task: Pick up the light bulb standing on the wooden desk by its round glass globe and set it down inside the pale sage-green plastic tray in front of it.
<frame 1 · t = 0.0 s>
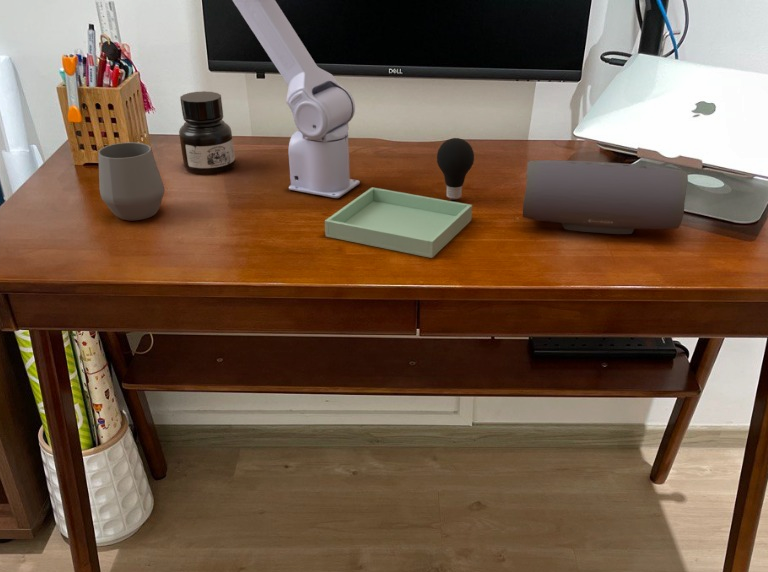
ink bottle: (210, 167, 147), on the table
tray: (400, 228, 125), on the table
bluetooth speaker: (597, 229, 125), on the table
light bulb: (453, 201, 134), on the table
cup: (137, 215, 128), on the table
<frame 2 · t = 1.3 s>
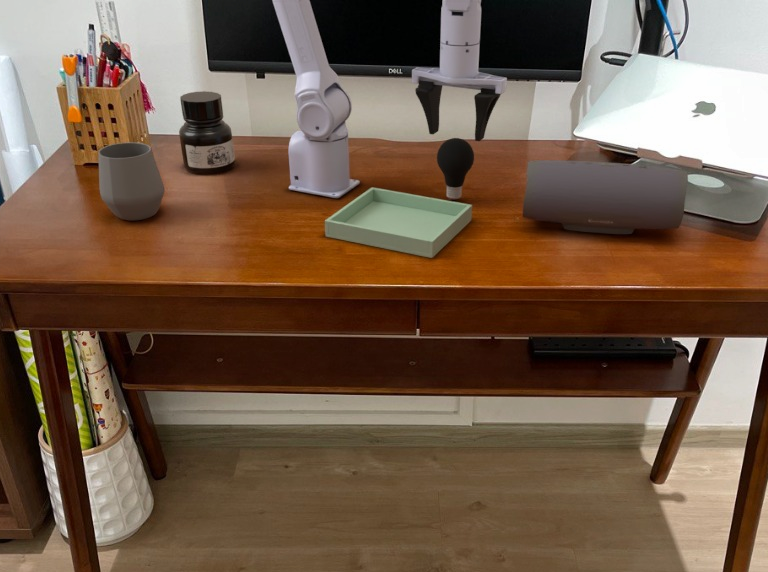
hand: (456, 135, 128), 10 cm above the table, tool pointing down, fingers open, 7 cm apart
nothing on the table moved.
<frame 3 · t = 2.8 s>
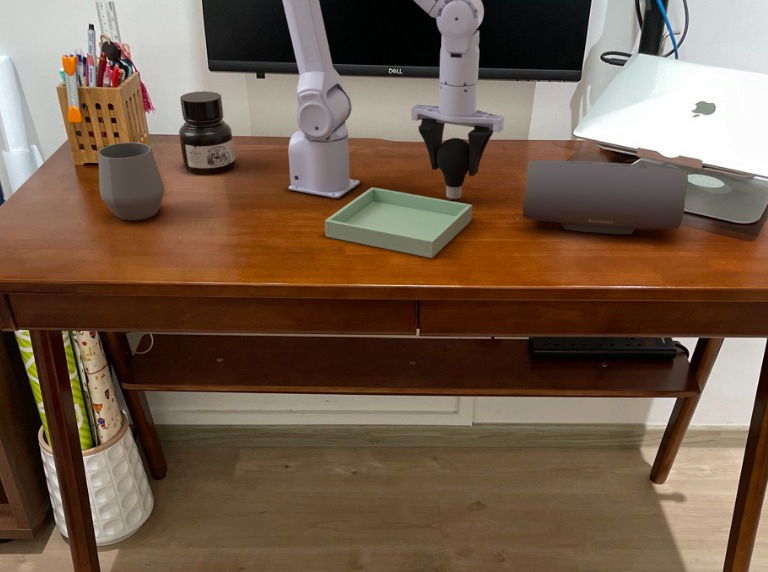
hand: (454, 170, 131), 5 cm above the table, tool pointing down, fingers closed on light bulb, 6 cm apart
light bulb: (453, 201, 134), on the table, touching gripper
everything else where it was.
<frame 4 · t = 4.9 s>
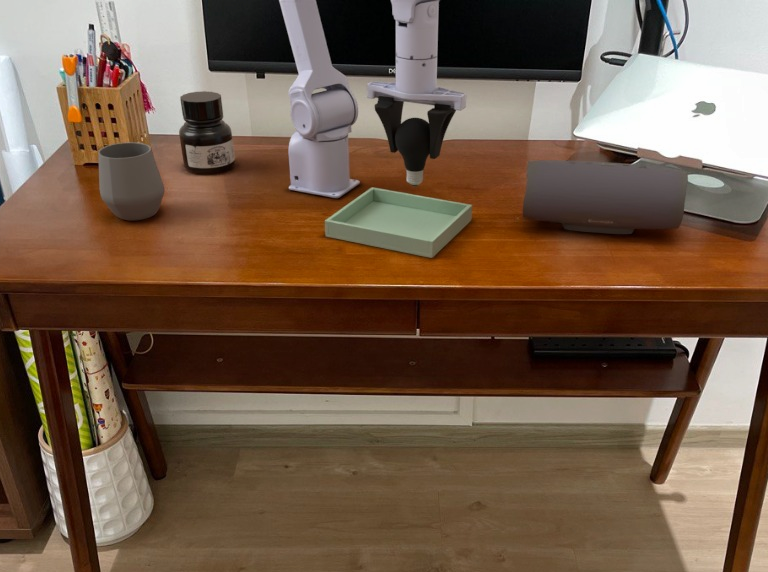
hand: (415, 153, 121), 10 cm above the table, tool pointing down, fingers closed on light bulb, 6 cm apart
light bulb: (414, 187, 124), point 5 cm above the table, touching gripper
everything else where it was.
when the fingers open (5 cm above the table, at t = 7.3 s): light bulb stays where it is, resting on tray.
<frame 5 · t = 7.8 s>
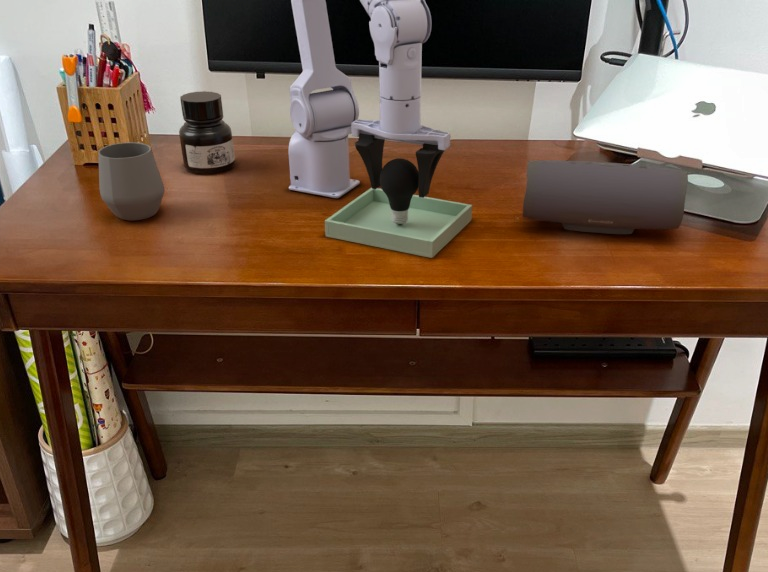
hand: (400, 191, 121), 6 cm above the table, tool pointing down, fingers open, 7 cm apart
light bulb: (399, 226, 125), resting on tray
everything else where it was.
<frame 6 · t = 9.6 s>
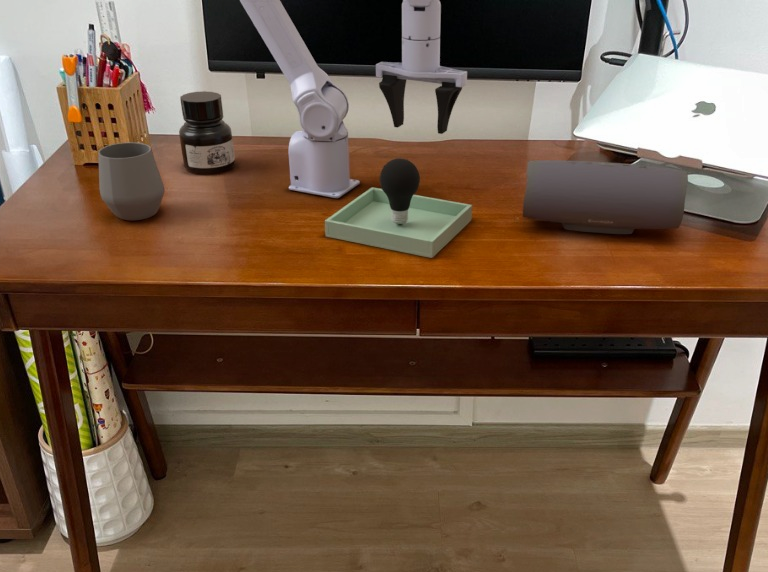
hand: (420, 128, 131), 10 cm above the table, tool pointing down, fingers open, 7 cm apart
nothing on the table moved.
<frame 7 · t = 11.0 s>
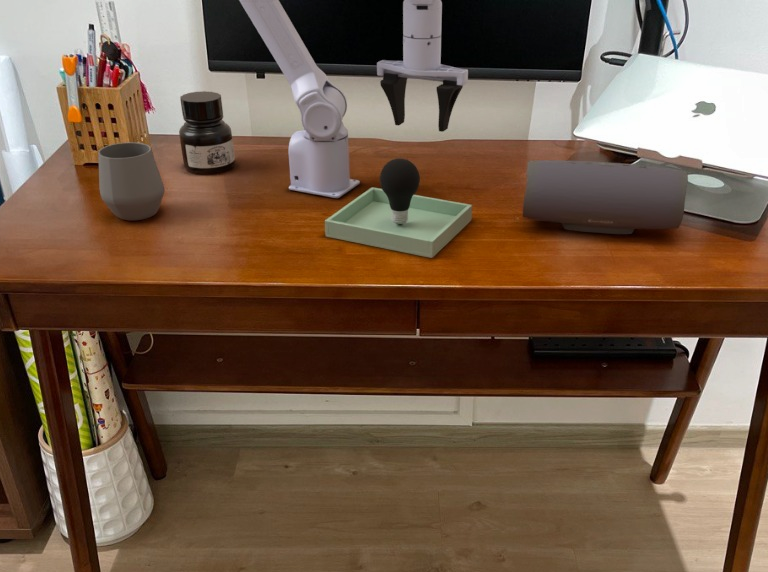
hand: (421, 126, 132), 10 cm above the table, tool pointing down, fingers open, 7 cm apart
nothing on the table moved.
at the end: light bulb inside the target area in the tray (0.1 cm from its centre), point 0.3 cm above the tray's base; the gripper is holding nothing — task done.
